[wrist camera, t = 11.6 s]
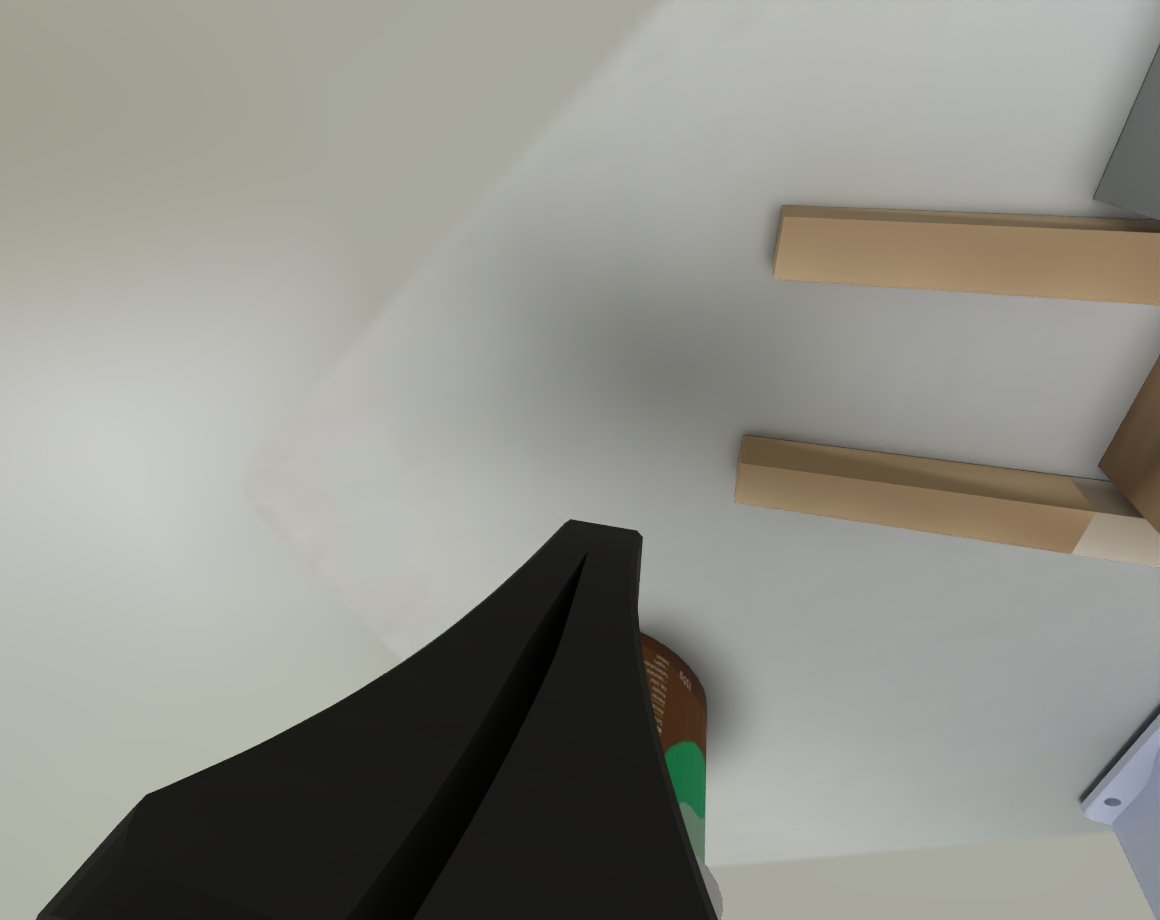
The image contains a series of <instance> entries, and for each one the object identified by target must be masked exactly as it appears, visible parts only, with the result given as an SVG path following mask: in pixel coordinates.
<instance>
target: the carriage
mask: <svg viewBox="0 0 1160 920" xmlns="http://www.w3.org/2000/svg"><path fill="white" fill-rule="evenodd" d="M1098 466H1099V467H1100V468H1101V470H1102V471H1103V472H1104V473H1105V474H1106V475H1107V476H1108V477H1109V479H1110V480H1111V481H1112V482H1113V483H1114V484H1115V485H1116V486H1117V487H1118V489H1119V490H1120V491H1121V492H1122V493H1123V494H1124V495H1125V496H1126V497H1127V499H1128V500H1129V501H1130V502H1131V503H1132V504H1133V505H1134V506H1135V508H1136V509H1137V510H1138V511H1139V512H1140V513H1141V514H1142V515H1143V516H1144V518H1145V519H1146V520H1147V521H1148V522H1149V523H1150V524H1151V525H1152V526H1153V528H1154V529H1155V530H1156V531H1157V532H1158V533H1159V534H1160V356H1159V358H1158V359H1157V361H1156V363H1155V365H1154V366H1153V368H1152V370H1151V372H1150V374H1149V375H1148V377H1147V379H1146V381H1145V383H1144V384H1143V386H1142V388H1141V390H1140V391H1139V393H1138V395H1137V397H1136V399H1135V400H1134V402H1133V404H1132V406H1131V408H1130V409H1129V411H1128V413H1127V415H1126V416H1125V418H1124V420H1123V422H1122V424H1121V425H1120V427H1119V429H1118V431H1117V432H1116V434H1115V436H1114V438H1113V440H1112V441H1111V443H1110V445H1109V447H1108V449H1107V450H1106V452H1105V454H1104V456H1103V457H1102V459H1101V461H1100V463H1099V465H1098Z"/></svg>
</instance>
